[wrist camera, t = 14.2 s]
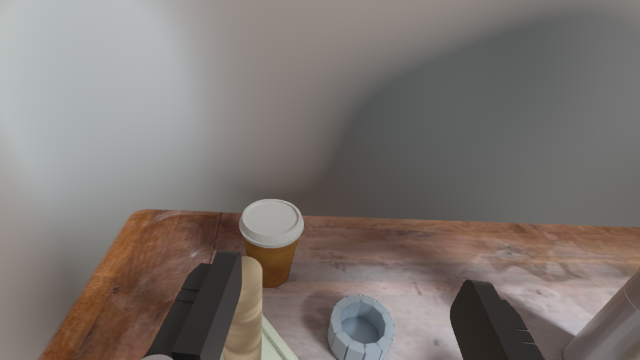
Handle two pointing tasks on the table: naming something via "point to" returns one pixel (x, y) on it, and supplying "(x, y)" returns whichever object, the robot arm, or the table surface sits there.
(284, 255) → the disposable coffee cup
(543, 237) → the table surface
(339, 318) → the holder
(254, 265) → the dowel
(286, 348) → the tray
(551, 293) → the table surface
